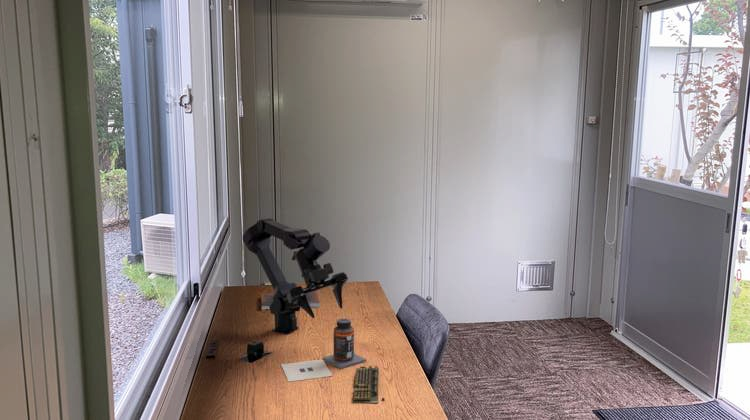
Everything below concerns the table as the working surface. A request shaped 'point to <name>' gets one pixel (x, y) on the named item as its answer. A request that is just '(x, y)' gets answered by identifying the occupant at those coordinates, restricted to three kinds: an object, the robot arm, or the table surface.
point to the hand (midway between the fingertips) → (327, 313)
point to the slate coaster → (344, 364)
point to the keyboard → (366, 385)
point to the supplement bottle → (343, 340)
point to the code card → (306, 370)
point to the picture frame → (312, 300)
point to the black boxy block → (255, 352)
